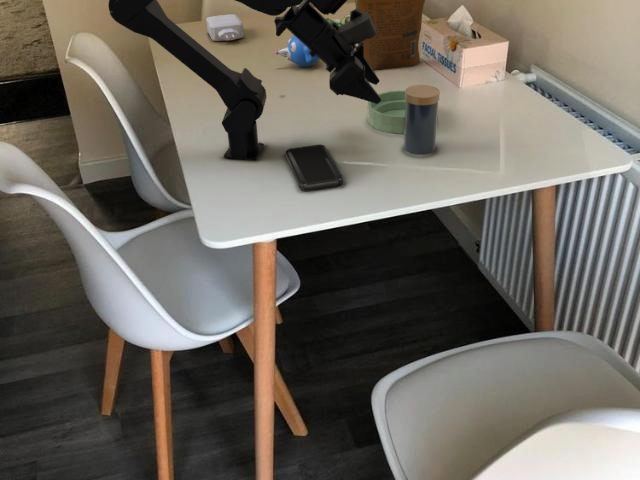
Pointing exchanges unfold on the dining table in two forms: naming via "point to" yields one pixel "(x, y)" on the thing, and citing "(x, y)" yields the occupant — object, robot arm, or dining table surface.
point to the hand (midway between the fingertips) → (378, 92)
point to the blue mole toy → (298, 53)
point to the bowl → (388, 112)
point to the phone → (313, 167)
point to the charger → (225, 27)
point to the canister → (421, 119)
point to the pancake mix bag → (393, 32)
